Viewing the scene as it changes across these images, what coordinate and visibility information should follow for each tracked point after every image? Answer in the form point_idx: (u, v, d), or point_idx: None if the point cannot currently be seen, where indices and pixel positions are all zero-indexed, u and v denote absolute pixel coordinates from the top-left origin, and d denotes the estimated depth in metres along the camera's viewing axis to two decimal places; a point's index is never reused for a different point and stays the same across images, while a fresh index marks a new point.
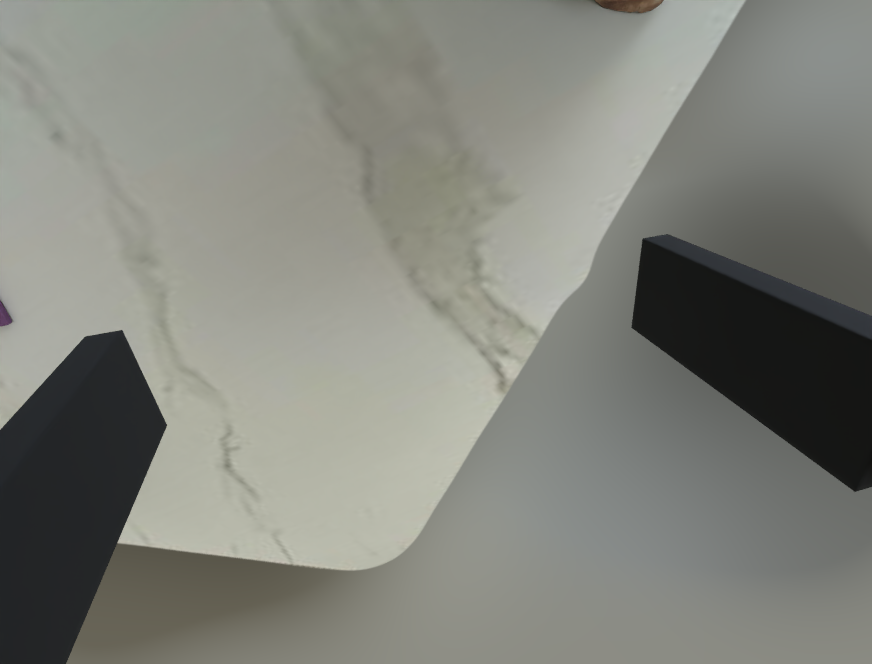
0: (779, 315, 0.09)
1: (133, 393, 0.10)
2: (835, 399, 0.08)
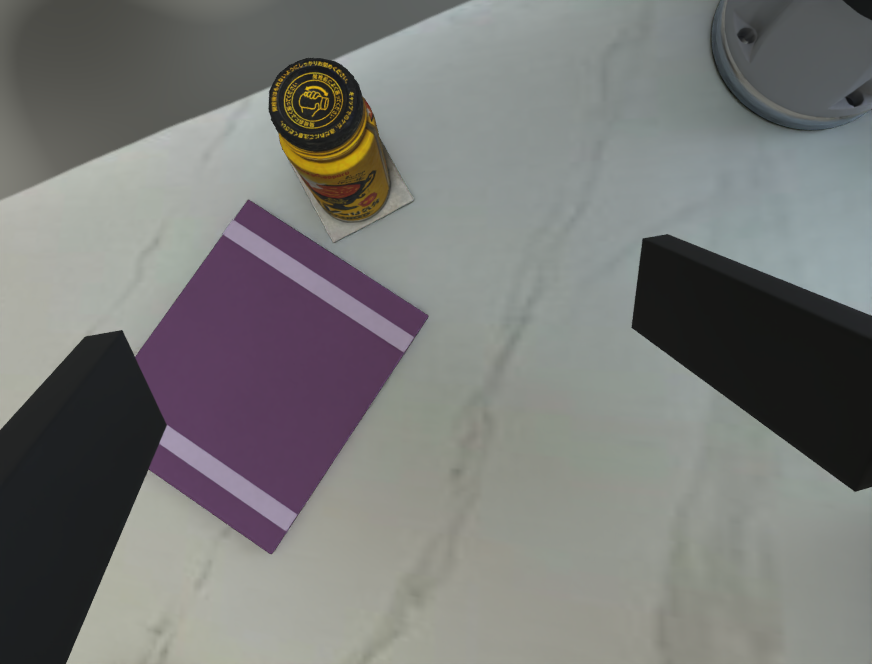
0: (779, 315, 0.09)
1: (133, 393, 0.10)
2: (835, 399, 0.08)
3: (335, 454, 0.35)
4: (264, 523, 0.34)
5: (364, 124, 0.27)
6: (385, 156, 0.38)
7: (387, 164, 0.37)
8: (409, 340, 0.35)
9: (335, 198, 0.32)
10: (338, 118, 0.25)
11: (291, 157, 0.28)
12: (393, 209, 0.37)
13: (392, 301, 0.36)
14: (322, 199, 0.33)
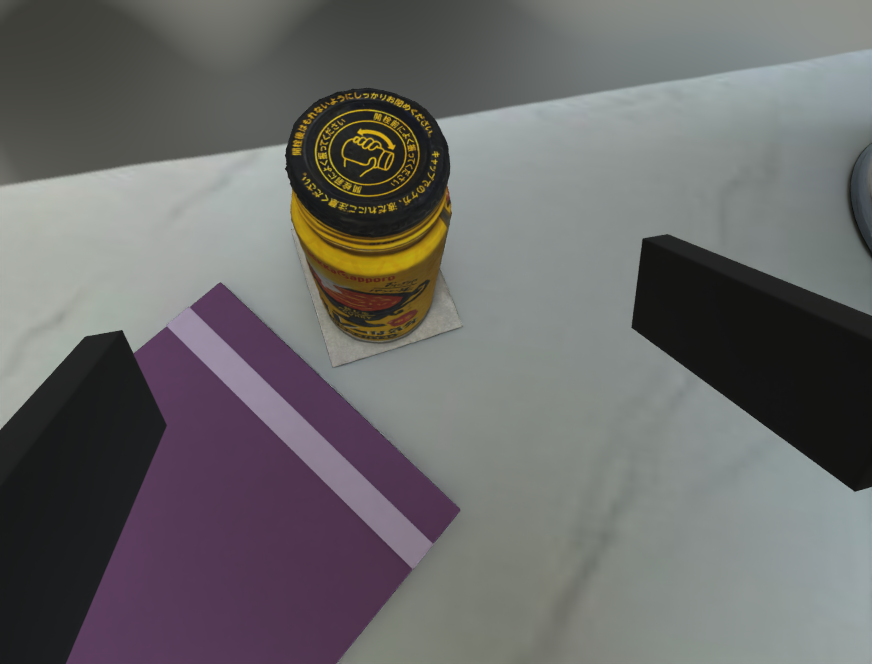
0: (779, 315, 0.09)
1: (133, 393, 0.10)
2: (835, 399, 0.08)
3: None
4: None
5: (441, 208, 0.16)
6: None
7: None
8: (426, 549, 0.22)
9: (356, 309, 0.20)
10: (406, 188, 0.14)
11: (304, 237, 0.17)
12: (430, 334, 0.25)
13: (408, 476, 0.23)
14: (334, 306, 0.21)
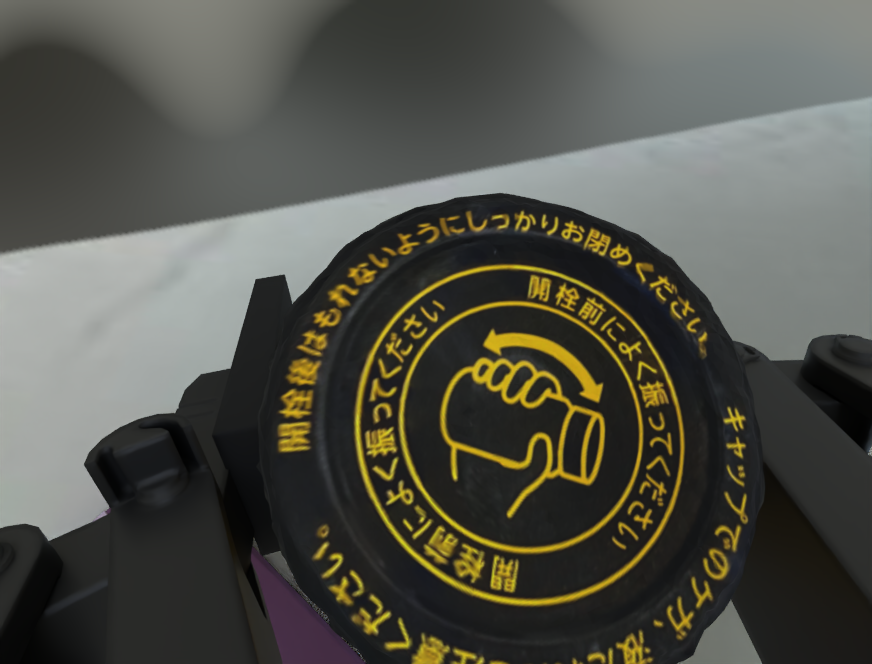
0: None
1: None
2: None
3: None
4: None
5: None
6: None
7: None
8: None
9: None
10: (666, 561, 0.04)
11: None
12: None
13: None
14: None
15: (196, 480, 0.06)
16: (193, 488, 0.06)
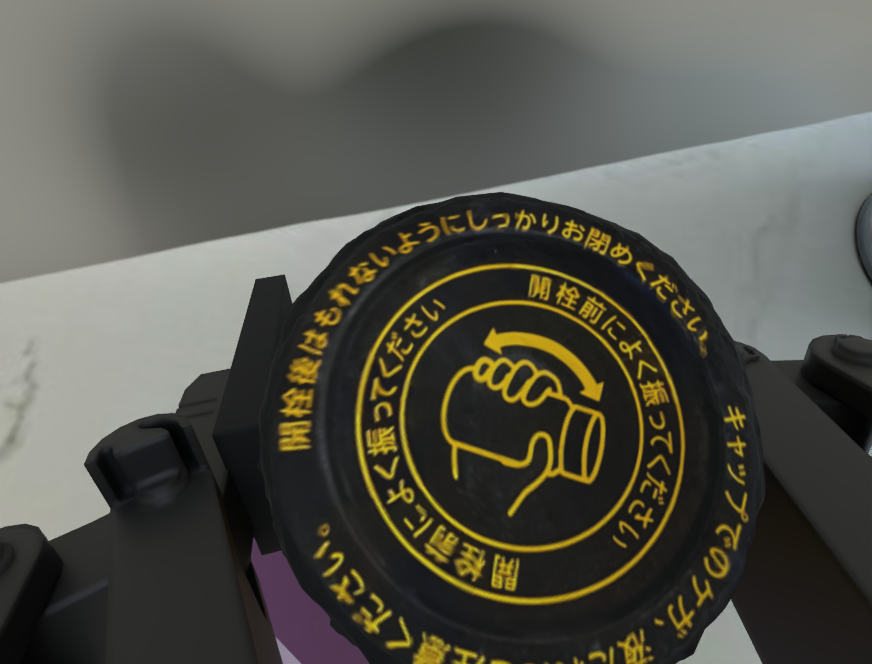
0: None
1: None
2: None
3: None
4: None
5: None
6: None
7: None
8: None
9: None
10: (667, 559, 0.04)
11: None
12: None
13: None
14: None
15: (196, 480, 0.06)
16: (193, 488, 0.06)
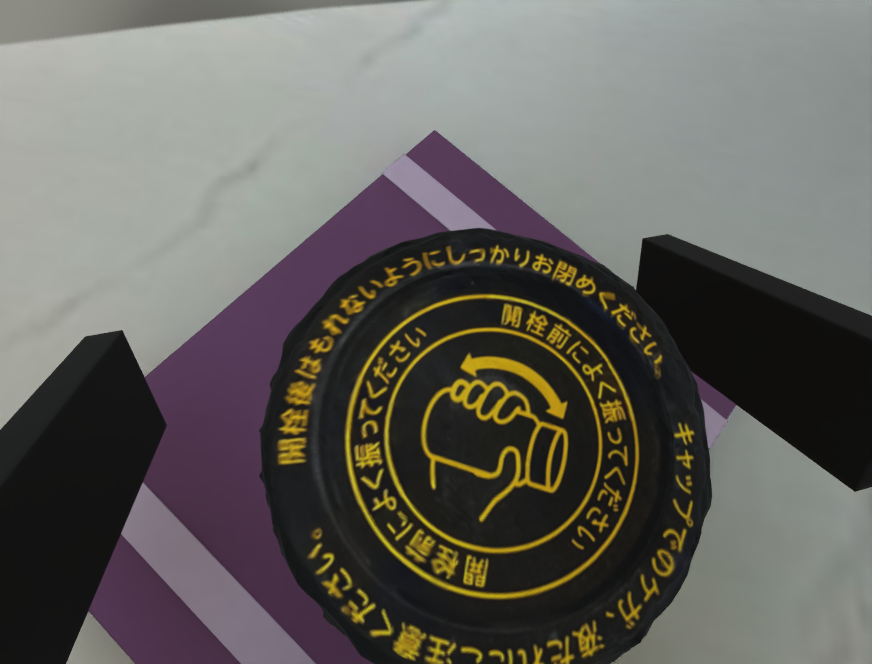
0: (779, 315, 0.09)
1: (133, 393, 0.10)
2: (835, 399, 0.08)
3: None
4: None
5: None
6: None
7: None
8: (720, 426, 0.18)
9: None
10: (619, 559, 0.05)
11: None
12: None
13: None
14: None
15: None
16: None
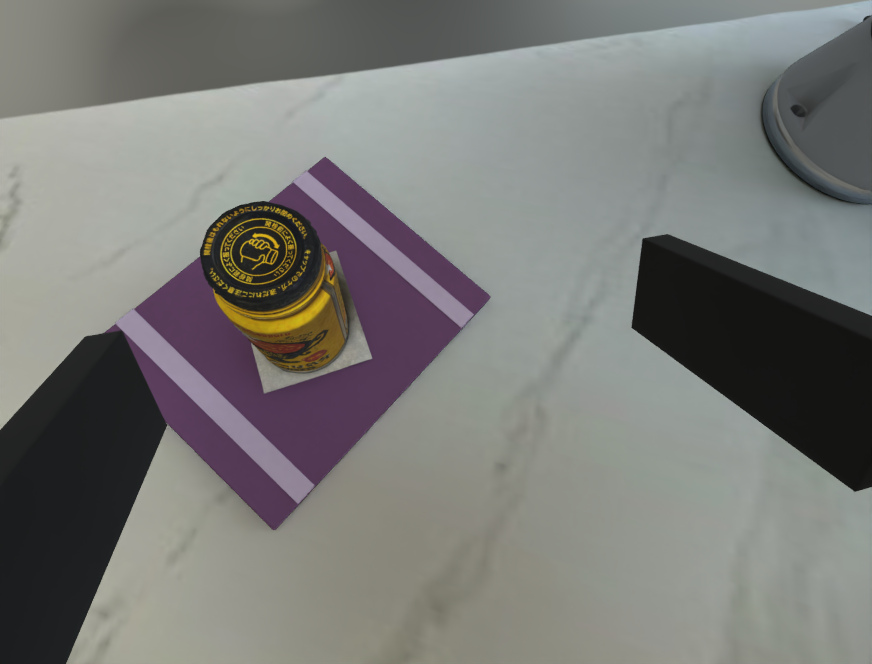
0: (779, 315, 0.09)
1: (133, 393, 0.10)
2: (835, 399, 0.08)
3: (371, 423, 0.31)
4: (273, 491, 0.29)
5: (318, 285, 0.22)
6: (348, 303, 0.33)
7: (349, 312, 0.32)
8: (469, 317, 0.33)
9: (272, 352, 0.26)
10: (284, 277, 0.20)
11: (221, 305, 0.23)
12: (345, 365, 0.31)
13: (456, 276, 0.34)
14: (258, 348, 0.27)
15: None
16: None
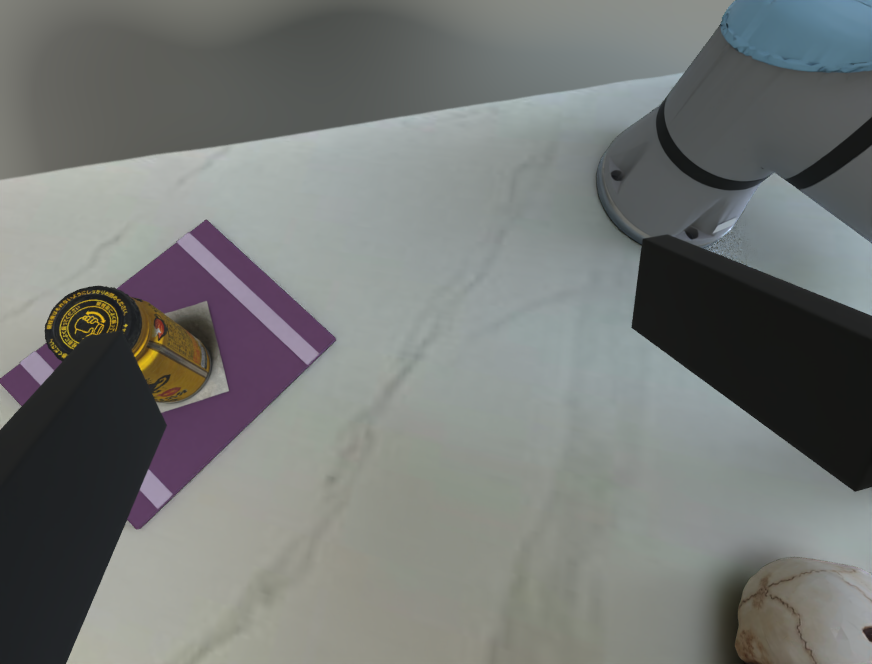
0: (779, 315, 0.09)
1: (133, 393, 0.10)
2: (835, 399, 0.08)
3: (223, 444, 0.38)
4: (139, 498, 0.36)
5: (141, 347, 0.29)
6: (214, 345, 0.40)
7: (213, 352, 0.40)
8: (315, 355, 0.41)
9: None
10: None
11: None
12: (206, 396, 0.39)
13: (307, 321, 0.42)
14: None
15: None
16: None
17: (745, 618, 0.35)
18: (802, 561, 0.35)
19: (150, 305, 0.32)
